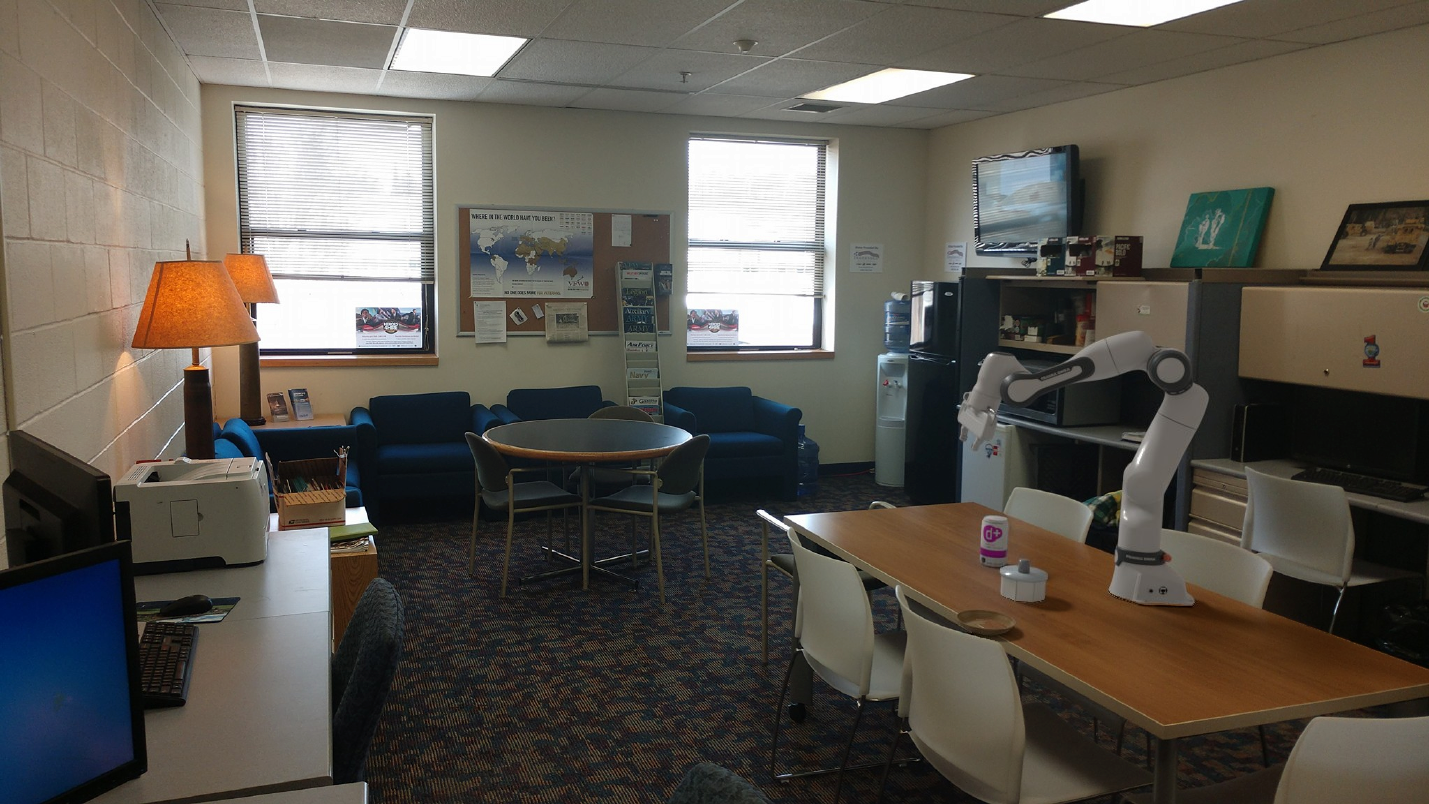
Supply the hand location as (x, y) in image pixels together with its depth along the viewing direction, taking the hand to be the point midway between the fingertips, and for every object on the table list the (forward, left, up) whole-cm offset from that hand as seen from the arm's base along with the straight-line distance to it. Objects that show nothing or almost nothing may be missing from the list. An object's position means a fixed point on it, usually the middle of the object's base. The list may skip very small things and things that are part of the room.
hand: (968, 445), depth 291 cm
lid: (-16, +19, -33) cm, 42 cm away
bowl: (-16, +19, -39) cm, 47 cm away
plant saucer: (-4, +49, -40) cm, 63 cm away
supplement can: (-10, -12, -40) cm, 43 cm away
